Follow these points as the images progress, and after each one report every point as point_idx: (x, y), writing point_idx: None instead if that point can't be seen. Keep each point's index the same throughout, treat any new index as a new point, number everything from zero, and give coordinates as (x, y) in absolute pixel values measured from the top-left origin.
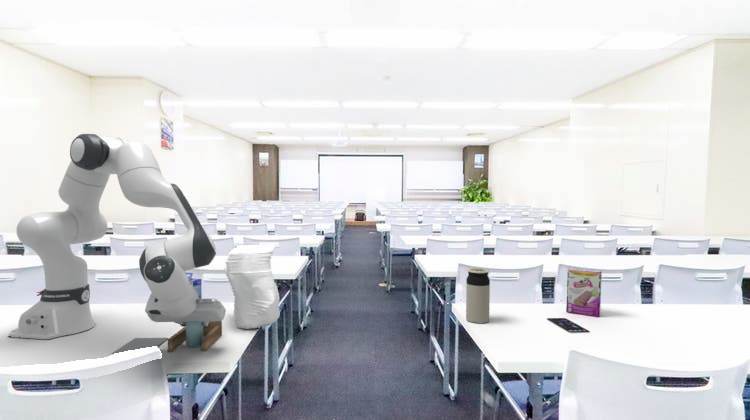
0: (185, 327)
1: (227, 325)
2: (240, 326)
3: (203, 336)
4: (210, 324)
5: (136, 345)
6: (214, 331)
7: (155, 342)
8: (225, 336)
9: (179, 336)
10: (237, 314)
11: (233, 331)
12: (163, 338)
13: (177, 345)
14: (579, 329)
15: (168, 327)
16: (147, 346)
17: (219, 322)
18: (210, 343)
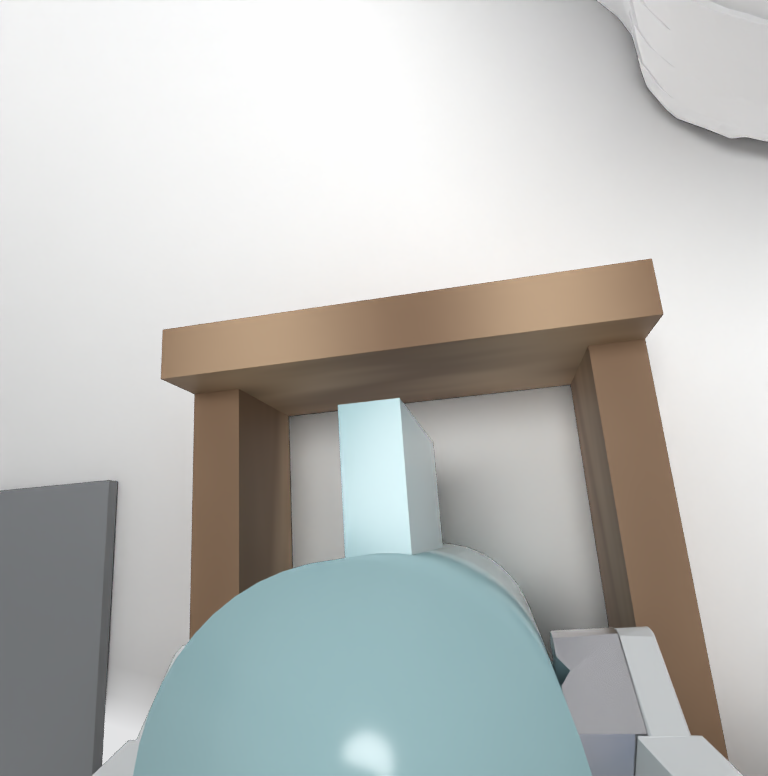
0: (217, 450)
1: (516, 75)
2: (743, 131)
3: (528, 605)
4: (502, 350)
5: None
6: (694, 593)
7: (43, 621)
8: (669, 371)
9: None
10: (752, 1)
11: (678, 218)
12: (74, 508)
13: None
14: None
15: (16, 207)
16: (11, 736)
17: (639, 324)
18: None
